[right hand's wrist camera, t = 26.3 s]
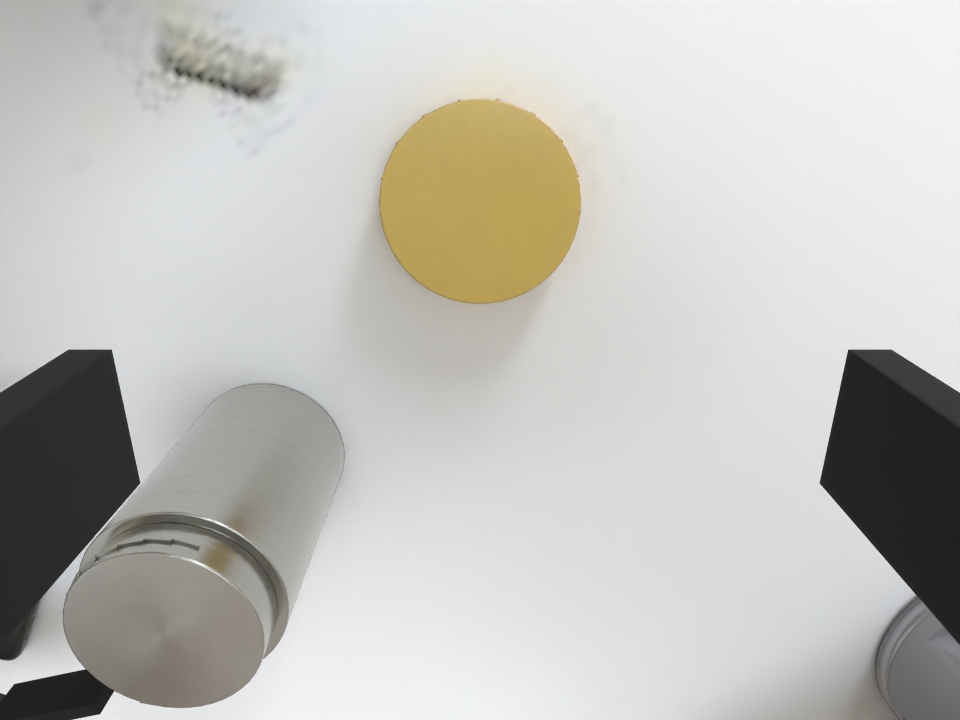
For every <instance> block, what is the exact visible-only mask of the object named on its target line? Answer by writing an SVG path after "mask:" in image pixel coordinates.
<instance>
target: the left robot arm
mask: <svg viewBox="0 0 960 720" xmlns="http://www.w3.org/2000/svg"><path fill="white" fill-rule="evenodd" d="M113 692H114V690H113V689H111V688H109V687H107V686H106V685H104V684H103V683H102V682H100V681H99V680H98V679H96V678H95V677H94V676H93V675H92V674H91V673H90V672H88V671H87V670H86V669H85V670H80V671H76V672H71V673H66V674H61V675H56V676H52V677H47V678H42V679H37V680H32V681H27V682H23V683H18V684H14V685H13V687H12V688H11V689H10V690H9V692H8V693H7V694H6V695H4V694H1V693H0V720H73V719H78V718H83V717H88V716H93V715H98V714H100V713H101V712H102V710H103V708H104V707H105V705H106V703H107V702H108V700H109V699H110V697H111V695H112V694H113Z"/></svg>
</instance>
